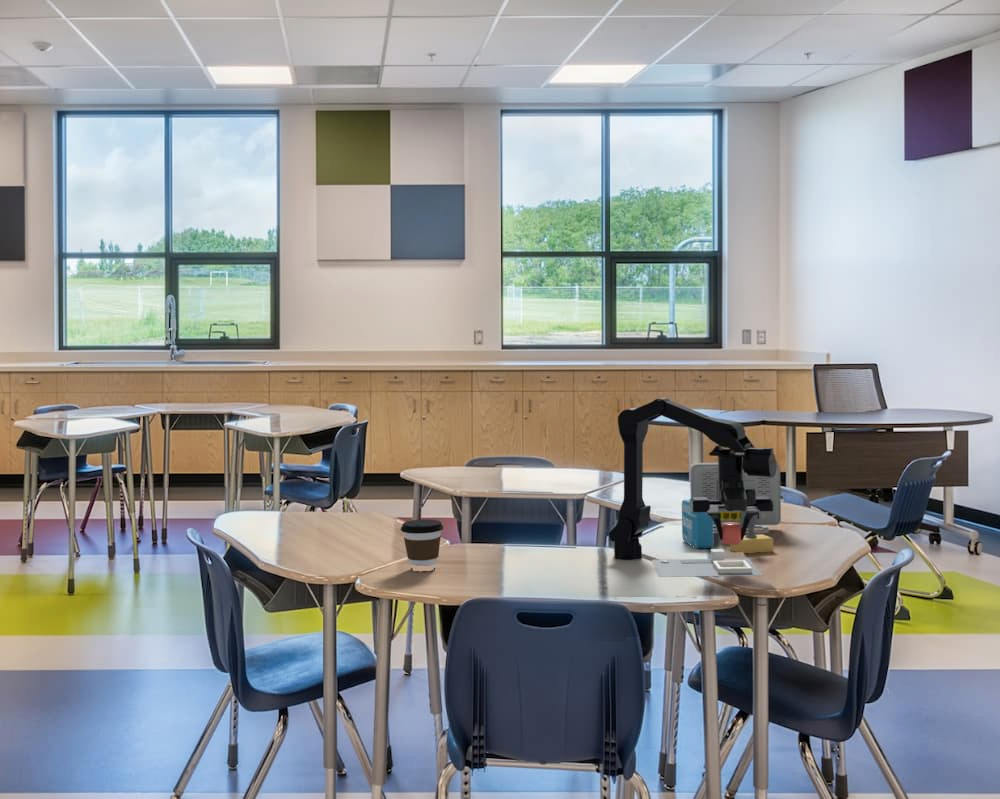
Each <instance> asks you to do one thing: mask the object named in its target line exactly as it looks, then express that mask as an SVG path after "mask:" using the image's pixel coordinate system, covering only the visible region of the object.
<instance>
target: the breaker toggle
mask: <svg viewBox="0 0 1000 799" xmlns="http://www.w3.org/2000/svg"><path fill="white" fill-rule="evenodd" d="M710 559H711V560H712V562H713V561H725V559H726V551H725V550H724V548H710Z"/></svg>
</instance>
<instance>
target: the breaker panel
mask: <svg viewBox="0 0 1000 799" xmlns="http://www.w3.org/2000/svg"><path fill="white" fill-rule="evenodd" d="M651 561H652V562H651V563H652V564H653V567H654V570H655V571H656V573H657V576H658V577H659V578H665V577H666V578H667V577H668V578H669V577H670V578H674V577H675V578H676V577H677V578H679V577H682V578H683V577H691V578H692V577H751V576H752V577H753V576H754V577H756V576H757V577H761V576H763V577H764V575H763V573H762V572H761V571H760V570H759V568H757V567H756V565H754V563H753V562H752V561H751V560H750V558H747V557H745V558H744V557H743V558H742V557H741V558H725V561H713V562H712V560H711V558H684V559H683V558H681V559H680V558H677V559H675V558H673V559H672V558H671V559H667V558H665V559H661V558H660V559H658V558H657V559H651Z"/></svg>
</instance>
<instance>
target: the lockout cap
mask: <svg viewBox="0 0 1000 799" xmlns="http://www.w3.org/2000/svg"><path fill="white" fill-rule="evenodd" d="M721 525H722V540H721V543H722V544H723V545H727V546H728V545H729V546H730V545H738V544H741V524H740V523H734V522H726V523H722V524H721Z"/></svg>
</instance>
